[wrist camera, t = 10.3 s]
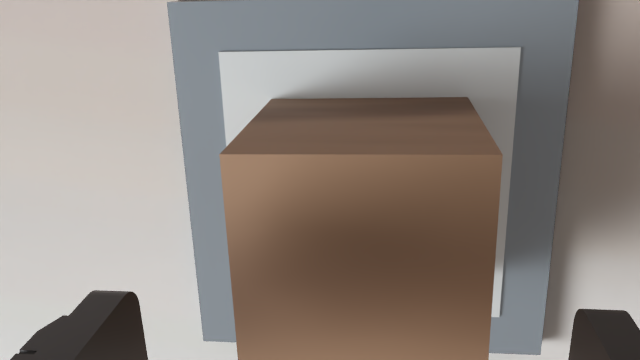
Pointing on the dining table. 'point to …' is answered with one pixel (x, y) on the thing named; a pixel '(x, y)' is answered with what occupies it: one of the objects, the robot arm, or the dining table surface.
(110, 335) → the robot arm
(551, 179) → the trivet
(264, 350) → the walnut cube
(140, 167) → the dining table surface
